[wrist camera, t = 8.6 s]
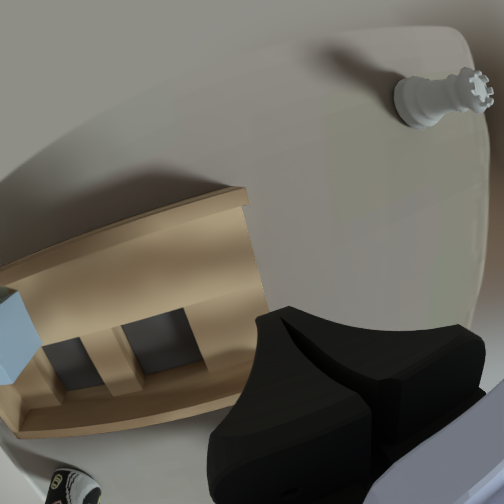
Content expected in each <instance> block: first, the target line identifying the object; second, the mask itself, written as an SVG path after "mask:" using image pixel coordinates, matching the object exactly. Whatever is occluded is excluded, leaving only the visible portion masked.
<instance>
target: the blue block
mask: <svg viewBox="0 0 504 504" xmlns="http://www.w3.org/2000/svg"><path fill="white" fill-rule="evenodd" d="M42 344H43V343H42V341H41V339H40V337H39V335H38V333H37V331H36V329H35V327H34V325H33V323H32V321H31V318H30V316H29V314H28V312H27V310H26V307H25V305H24V303H23V301H22V298H21V296H20V293H19V291H16V292H14V293H11V294H8V295H6V296H3V297H0V385H7V384H13V383H14V382H15V380H16V379H17V377H18V376H19V375H20V373H21V372H22V370H23V369H24V368H25V366H26V365H27V364H28V362H29V361H30V360H31V358H32V357H33V356H34V354H35V353H36V352H37V350H38V349H39V348H40V346H41V345H42Z"/></svg>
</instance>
